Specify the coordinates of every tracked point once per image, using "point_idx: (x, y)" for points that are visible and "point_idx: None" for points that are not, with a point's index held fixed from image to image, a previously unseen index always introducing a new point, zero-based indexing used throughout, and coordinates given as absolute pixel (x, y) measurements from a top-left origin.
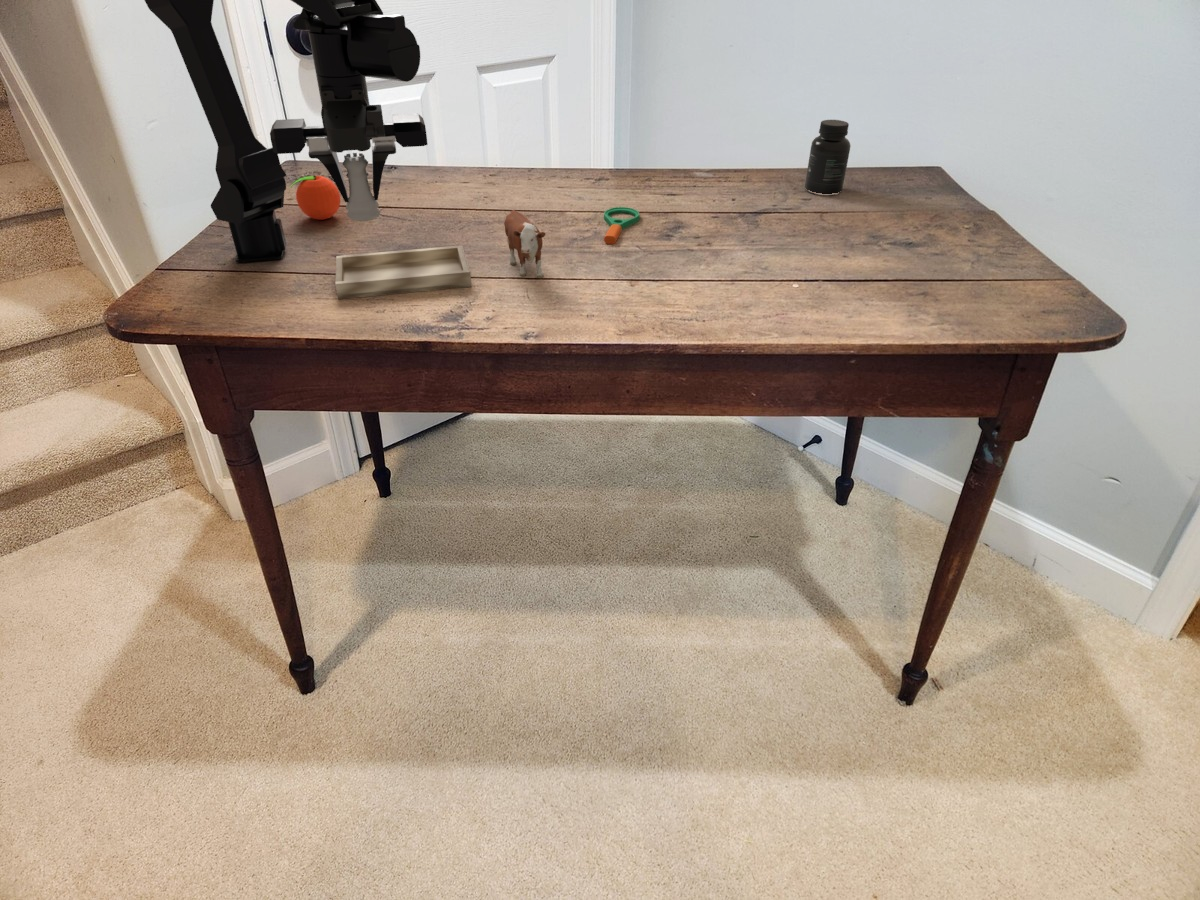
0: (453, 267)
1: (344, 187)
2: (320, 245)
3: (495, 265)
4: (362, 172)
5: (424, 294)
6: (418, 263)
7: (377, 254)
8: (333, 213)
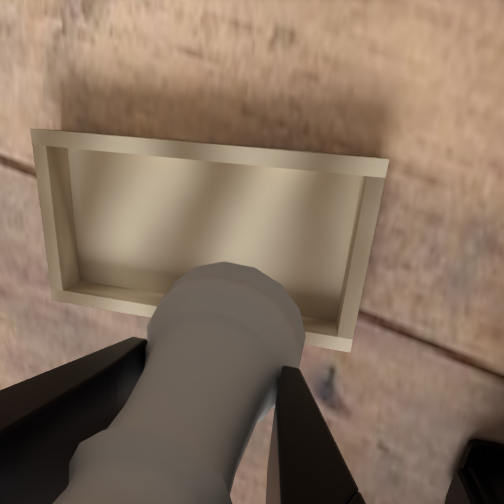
0: (90, 233)
1: (279, 417)
2: (364, 472)
3: (14, 233)
4: (81, 481)
5: (166, 120)
6: (164, 284)
7: None
8: None
